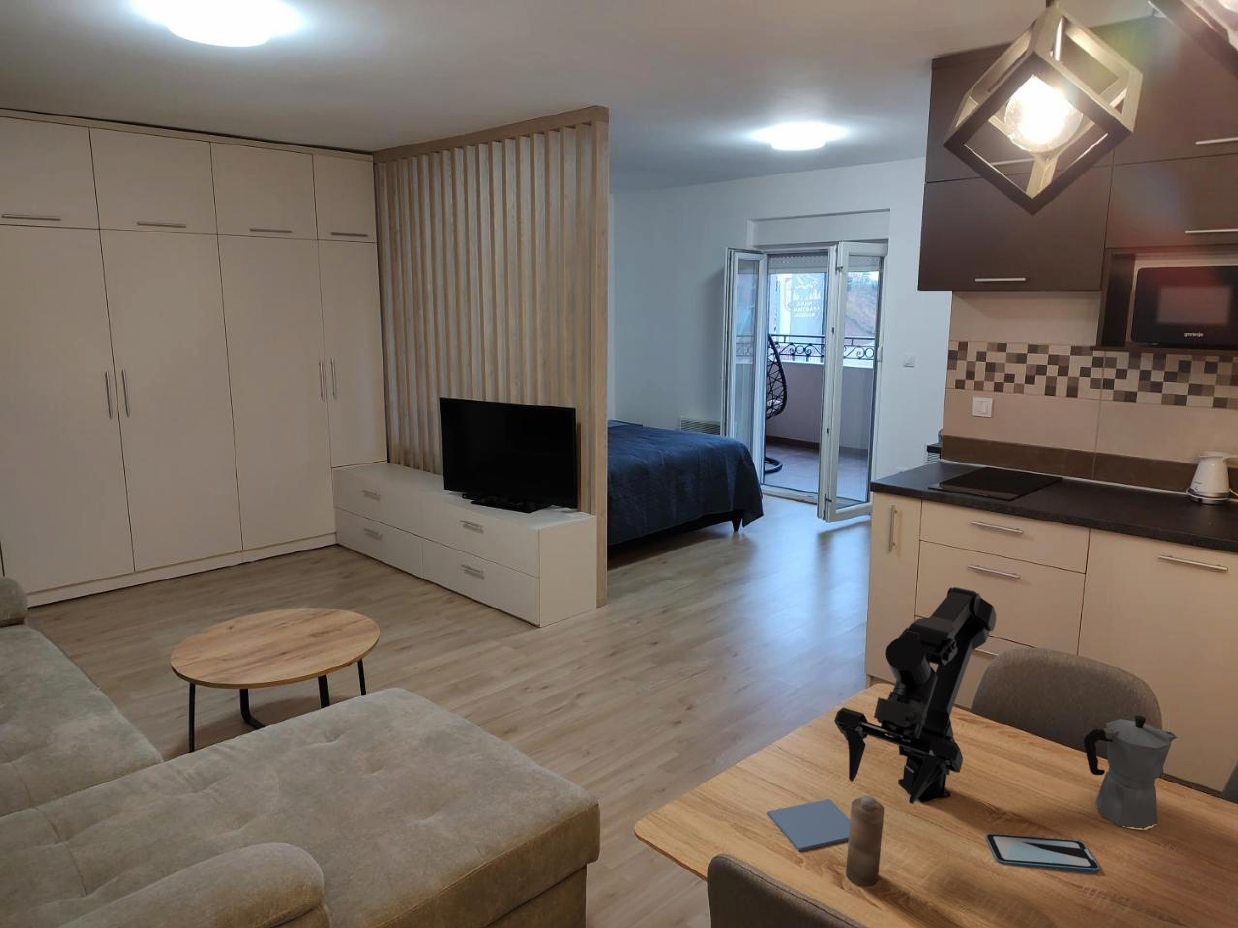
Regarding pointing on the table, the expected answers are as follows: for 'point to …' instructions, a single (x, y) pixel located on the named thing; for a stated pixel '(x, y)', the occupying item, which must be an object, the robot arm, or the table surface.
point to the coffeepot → (1129, 770)
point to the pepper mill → (865, 841)
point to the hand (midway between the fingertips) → (880, 791)
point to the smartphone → (1042, 853)
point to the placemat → (812, 824)
